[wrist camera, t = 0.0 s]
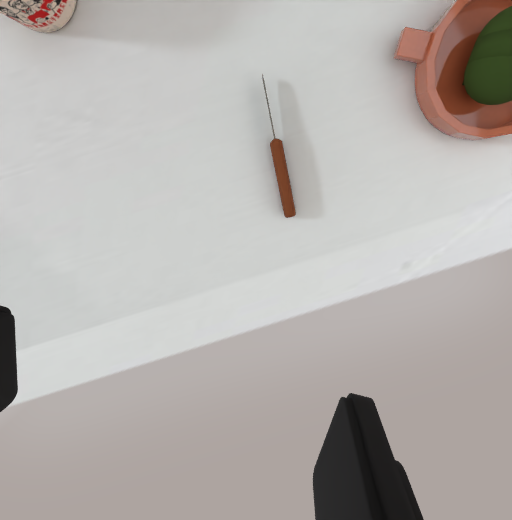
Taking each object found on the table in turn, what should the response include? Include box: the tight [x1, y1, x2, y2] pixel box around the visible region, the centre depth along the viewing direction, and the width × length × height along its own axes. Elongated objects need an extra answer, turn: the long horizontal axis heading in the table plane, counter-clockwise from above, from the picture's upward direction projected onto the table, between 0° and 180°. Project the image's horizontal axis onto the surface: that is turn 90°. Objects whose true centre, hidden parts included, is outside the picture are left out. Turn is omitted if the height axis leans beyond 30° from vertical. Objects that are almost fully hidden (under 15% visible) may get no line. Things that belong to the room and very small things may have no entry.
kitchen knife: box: [262, 74, 296, 218], centre depth 35 cm, size 16×1×2 cm, turn 13°
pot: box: [394, 0, 512, 140], centre depth 30 cm, size 14×19×3 cm
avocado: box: [462, 6, 512, 105], centre depth 28 cm, size 8×6×6 cm
